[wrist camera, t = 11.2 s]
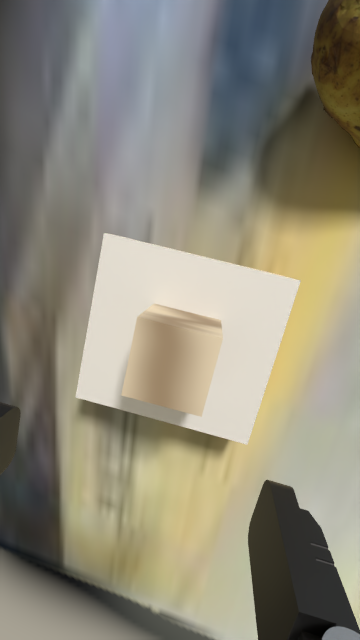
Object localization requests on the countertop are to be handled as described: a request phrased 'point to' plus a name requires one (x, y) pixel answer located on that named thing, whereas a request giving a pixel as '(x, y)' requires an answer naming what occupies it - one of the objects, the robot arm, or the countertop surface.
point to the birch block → (173, 358)
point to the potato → (339, 63)
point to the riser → (195, 297)
